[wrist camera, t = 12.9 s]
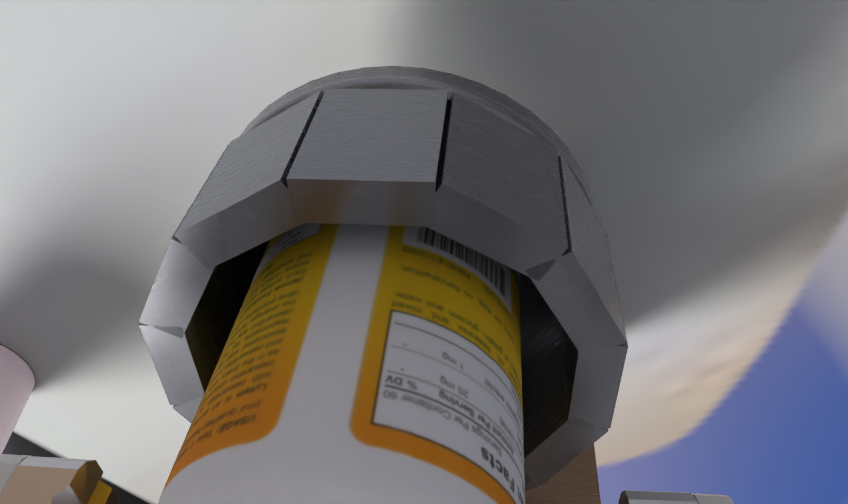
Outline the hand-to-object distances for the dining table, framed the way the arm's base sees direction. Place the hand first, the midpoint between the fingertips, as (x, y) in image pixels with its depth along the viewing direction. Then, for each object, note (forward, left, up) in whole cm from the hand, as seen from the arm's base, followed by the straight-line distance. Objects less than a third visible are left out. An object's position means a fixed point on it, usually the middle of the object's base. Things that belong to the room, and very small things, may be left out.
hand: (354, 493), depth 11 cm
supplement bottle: (0, 0, -6) cm, 6 cm away
